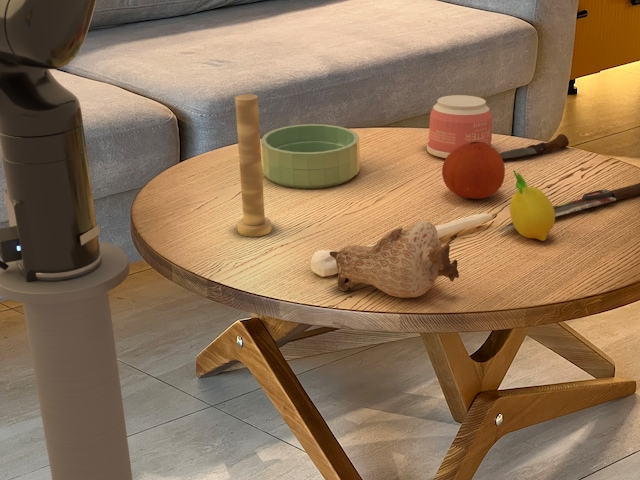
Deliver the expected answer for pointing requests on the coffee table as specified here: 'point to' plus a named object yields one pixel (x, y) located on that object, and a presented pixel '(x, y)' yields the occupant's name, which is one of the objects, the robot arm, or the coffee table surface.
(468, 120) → the container
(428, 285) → the figurine
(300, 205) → the coffee table surface
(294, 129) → the bowl
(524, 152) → the knife
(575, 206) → the knife
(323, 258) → the cream knobbed rod
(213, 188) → the coffee table surface
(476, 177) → the fruit
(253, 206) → the stick
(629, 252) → the coffee table surface
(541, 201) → the lemon
